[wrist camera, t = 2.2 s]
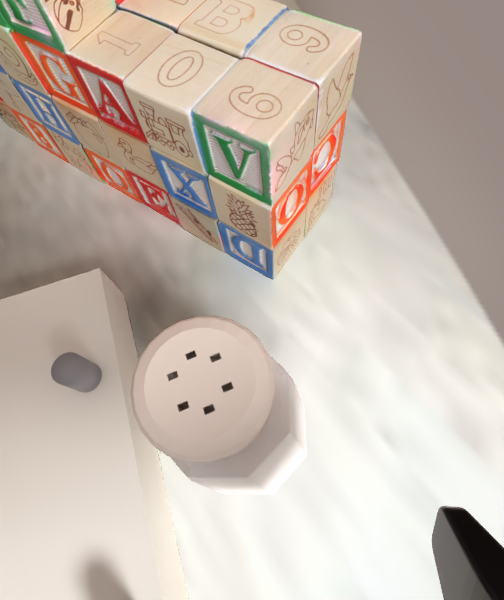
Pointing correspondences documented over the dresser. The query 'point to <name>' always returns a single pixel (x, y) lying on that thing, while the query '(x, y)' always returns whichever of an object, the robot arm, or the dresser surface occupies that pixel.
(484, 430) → the dresser surface
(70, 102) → the stack of blocks
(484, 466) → the dresser surface
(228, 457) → the pepper shaker
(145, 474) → the cream board with pegs
